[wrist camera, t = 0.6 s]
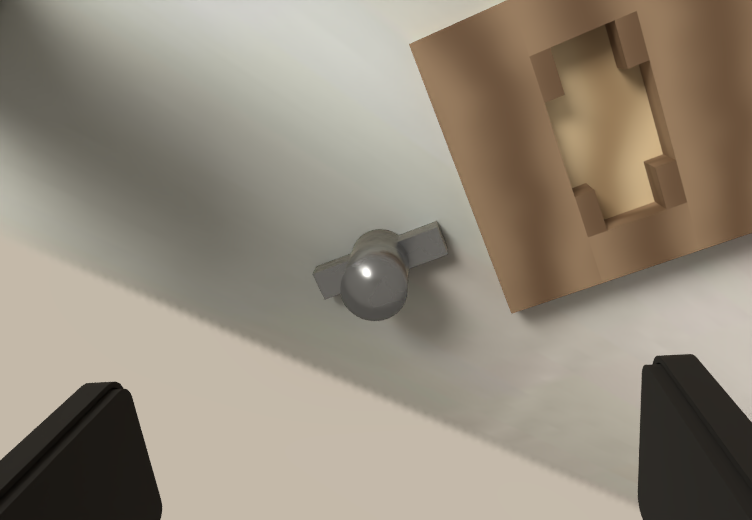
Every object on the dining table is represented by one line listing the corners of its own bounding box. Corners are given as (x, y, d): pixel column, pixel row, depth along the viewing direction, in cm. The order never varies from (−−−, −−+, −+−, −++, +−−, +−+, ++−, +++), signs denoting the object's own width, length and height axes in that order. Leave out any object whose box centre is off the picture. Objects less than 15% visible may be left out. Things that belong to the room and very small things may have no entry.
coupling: (333, 303, 42) (319, 342, 36) (310, 253, 41) (292, 286, 35) (452, 260, 40) (456, 294, 34) (431, 207, 39) (432, 234, 33)
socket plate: (506, 298, 41) (511, 313, 38) (410, 44, 36) (409, 44, 33) (780, 204, 37) (803, 215, 35) (715, -93, 32) (739, -104, 30)
